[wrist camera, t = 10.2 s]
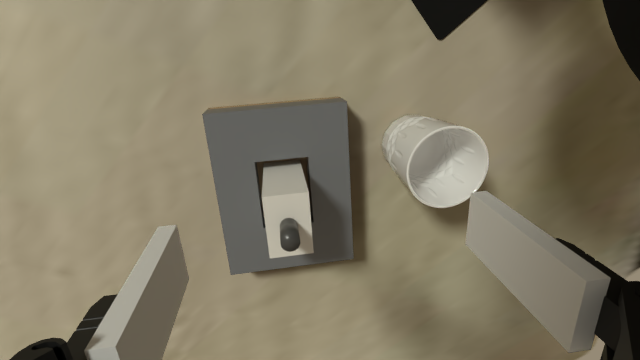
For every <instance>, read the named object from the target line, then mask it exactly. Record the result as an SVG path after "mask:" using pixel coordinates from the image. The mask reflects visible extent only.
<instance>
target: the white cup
mask: <svg viewBox="0 0 640 360" xmlns="http://www.w3.org/2000/svg"><path fill="white" fill-rule="evenodd" d="M382 149H383V154H384V158H385V159H386V160H387V161H388V163H389V164H390V165H391V167H392V169H393V171H394V172H395V173H396V175H397V176H398V177H399V179H400V180H401V181H402V182H403V183H404V184H405V185H406V187H407V188H408V189H409V190H410V191H411V193H412V194H413V195H414V196H415V197H416V198H417V199H418V200H419V201H420V202H422V203H423V204H425V205H427V206H430V207H435V208H448V207H452V206H456V205H458V204H460V203H462V202H464V201H466V200H467V199H469V198H470V195H471V192H476V191H477V190H478V189H479V188H480V186H481V185H482V183H483V181H484V179H485V177H486V175H487V171H488V166H489V154H488V150H487V147H486V145H485V143H484V141H483V140H482V138H481V137H480V136H479V135H478V134H477V133H476V132H474V131H473V130H471V129H468V128H466V127H462V126H459V125H456V124H452V123H449V122H446V121H442V120H439V119H434V118H431V117H424V116H421V115H405V116H403V117H401V118H399V119H397V120H395V121H394V122H393V123H392V124H391V125H390V126H389V128H388V129H387V130H386V132H385V134H384V138H383V142H382Z"/></svg>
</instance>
